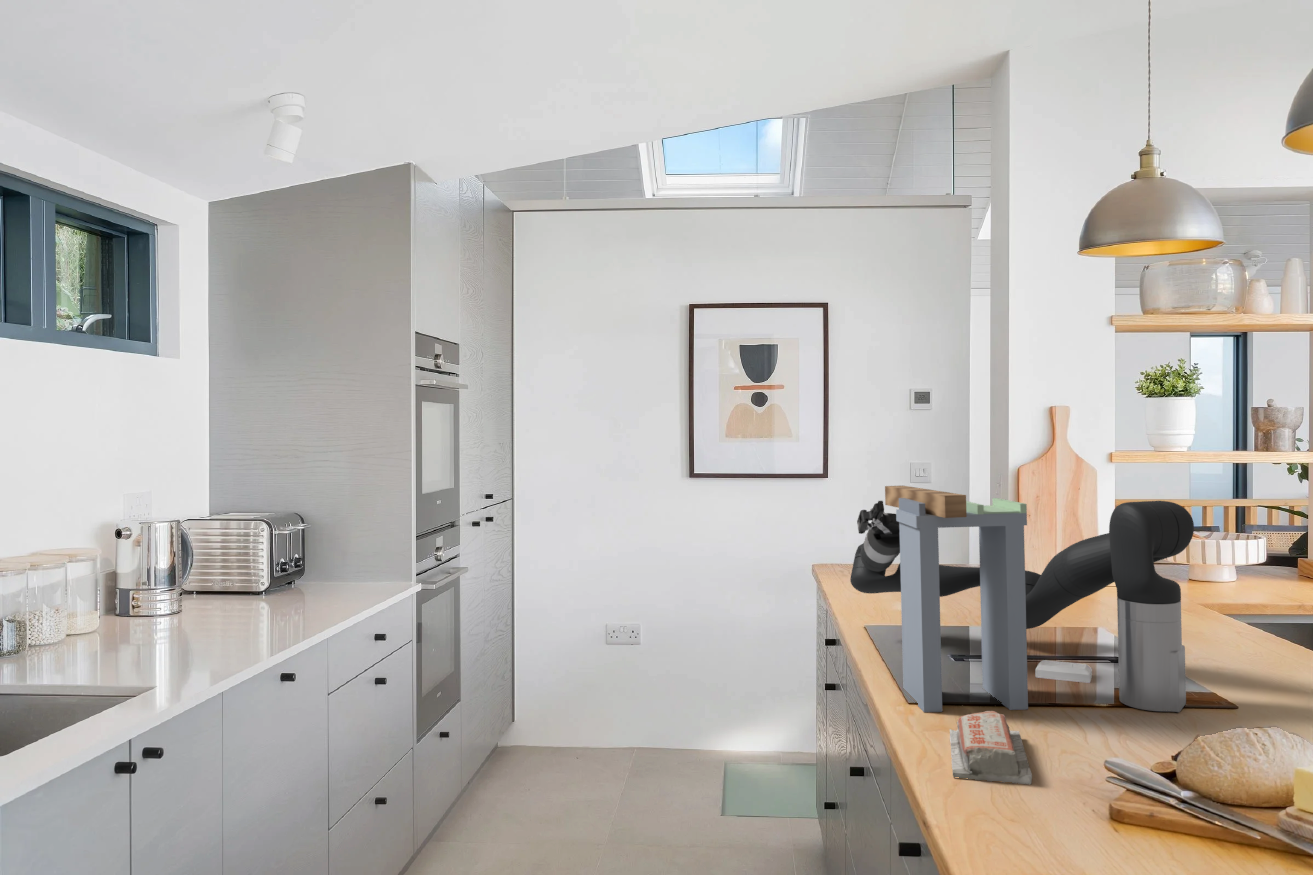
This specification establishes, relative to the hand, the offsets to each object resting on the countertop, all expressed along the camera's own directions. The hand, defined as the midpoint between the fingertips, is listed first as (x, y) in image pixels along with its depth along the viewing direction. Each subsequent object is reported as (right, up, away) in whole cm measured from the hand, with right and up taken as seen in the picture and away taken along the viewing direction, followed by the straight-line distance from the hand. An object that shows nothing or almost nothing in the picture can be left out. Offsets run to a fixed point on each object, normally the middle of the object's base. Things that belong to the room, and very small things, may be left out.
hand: (904, 504), depth 167 cm
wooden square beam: (0, 0, -12) cm, 12 cm away
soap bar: (+29, -32, -2) cm, 43 cm away
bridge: (+6, -32, -15) cm, 36 cm away
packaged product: (0, -33, -41) cm, 53 cm away
